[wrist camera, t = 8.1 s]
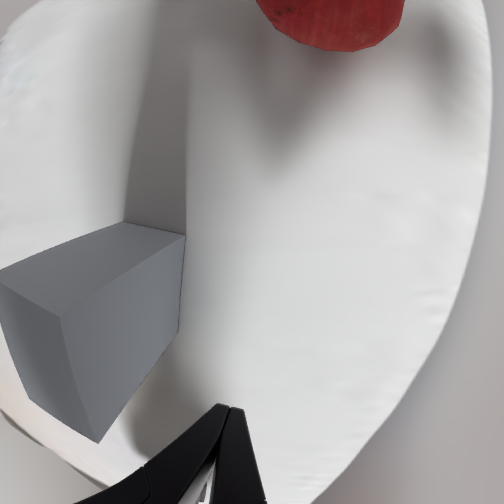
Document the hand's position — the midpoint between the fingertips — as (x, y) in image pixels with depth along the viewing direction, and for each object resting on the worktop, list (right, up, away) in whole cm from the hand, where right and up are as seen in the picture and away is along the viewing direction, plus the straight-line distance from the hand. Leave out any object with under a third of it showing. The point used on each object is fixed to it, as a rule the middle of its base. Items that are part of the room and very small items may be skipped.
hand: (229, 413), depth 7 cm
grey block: (-5, +3, +8) cm, 10 cm away
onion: (+4, +16, +3) cm, 17 cm away
